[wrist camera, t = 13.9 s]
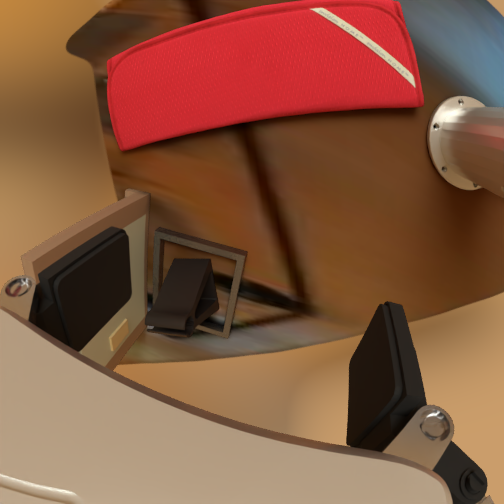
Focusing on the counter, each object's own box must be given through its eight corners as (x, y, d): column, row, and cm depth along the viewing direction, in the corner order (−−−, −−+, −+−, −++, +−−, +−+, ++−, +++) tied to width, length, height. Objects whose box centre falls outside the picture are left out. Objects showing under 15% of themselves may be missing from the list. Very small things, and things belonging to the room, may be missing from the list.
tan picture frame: (152, 194, 41) (34, 263, 21) (149, 325, 53) (85, 413, 32) (128, 188, 41) (10, 250, 21) (130, 317, 53) (63, 400, 33)
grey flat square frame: (247, 251, 42) (245, 256, 40) (230, 333, 49) (227, 338, 48) (159, 227, 43) (154, 230, 42) (156, 308, 50) (153, 313, 49)
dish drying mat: (112, 59, 33) (97, 56, 30) (394, 2, 23) (400, -8, 20) (127, 151, 39) (112, 154, 36) (417, 110, 29) (427, 110, 26)
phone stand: (175, 257, 45) (135, 299, 34) (210, 258, 43) (177, 303, 33) (186, 305, 48) (154, 352, 38) (219, 307, 47) (193, 358, 36)
